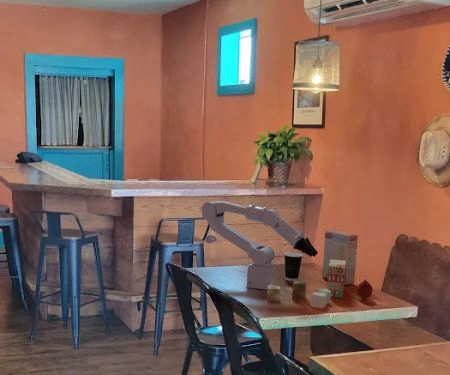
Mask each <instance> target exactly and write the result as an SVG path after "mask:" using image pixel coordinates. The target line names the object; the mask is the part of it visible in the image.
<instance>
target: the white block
mask: <svg viewBox="0 0 450 375" xmlns="http://www.w3.org/2000/svg"><path fill="white" fill-rule="evenodd" d="M326 300H327V294H326V293H320V292H315V291H314V292H312V293H311V294H310V307H312V308H317V309H324V308H325V307H326V306H327V304H326Z"/></svg>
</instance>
